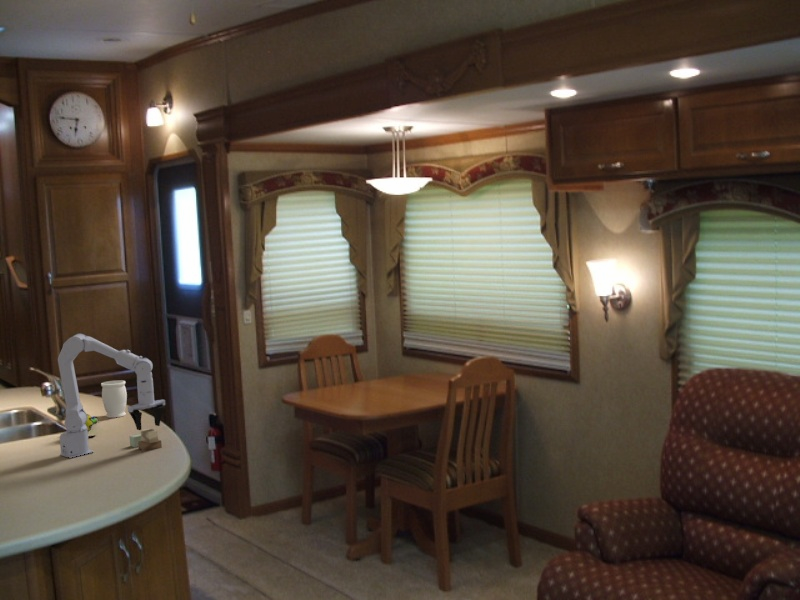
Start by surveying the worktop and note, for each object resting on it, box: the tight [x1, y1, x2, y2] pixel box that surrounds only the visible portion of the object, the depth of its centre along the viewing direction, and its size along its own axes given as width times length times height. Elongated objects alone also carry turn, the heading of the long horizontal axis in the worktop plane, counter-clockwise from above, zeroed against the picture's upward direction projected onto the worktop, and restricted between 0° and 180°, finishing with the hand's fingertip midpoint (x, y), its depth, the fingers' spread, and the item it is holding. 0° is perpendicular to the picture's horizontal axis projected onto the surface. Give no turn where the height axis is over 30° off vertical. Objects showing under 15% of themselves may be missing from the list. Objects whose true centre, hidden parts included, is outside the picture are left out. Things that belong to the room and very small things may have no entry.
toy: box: [85, 412, 99, 438], centre depth 369 cm, size 9×10×30 cm
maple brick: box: [140, 428, 159, 443], centre depth 336 cm, size 6×4×4 cm, turn 45°
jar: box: [100, 379, 128, 419], centre depth 395 cm, size 11×10×15 cm
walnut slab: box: [138, 438, 163, 452], centre depth 336 cm, size 7×5×3 cm
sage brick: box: [129, 433, 142, 448], centre depth 342 cm, size 6×4×4 cm, turn 135°
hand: (148, 427), depth 336 cm, fingers open, 7 cm apart
